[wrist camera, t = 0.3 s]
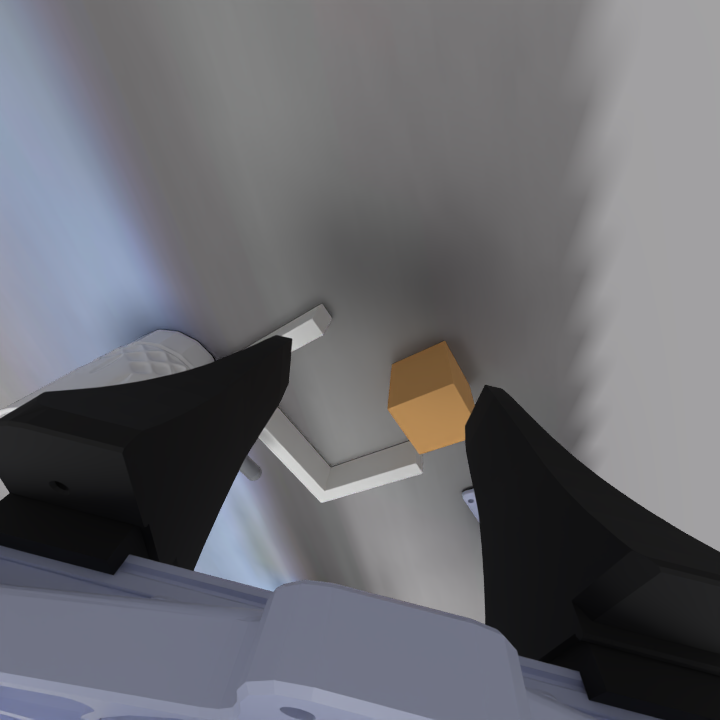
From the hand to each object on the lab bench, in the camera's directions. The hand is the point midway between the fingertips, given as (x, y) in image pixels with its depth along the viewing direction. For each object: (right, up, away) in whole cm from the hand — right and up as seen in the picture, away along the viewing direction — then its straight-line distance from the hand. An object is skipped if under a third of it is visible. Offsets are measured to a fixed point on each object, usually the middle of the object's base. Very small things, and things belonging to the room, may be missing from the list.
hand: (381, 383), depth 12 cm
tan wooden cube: (+4, 0, +11) cm, 12 cm away
